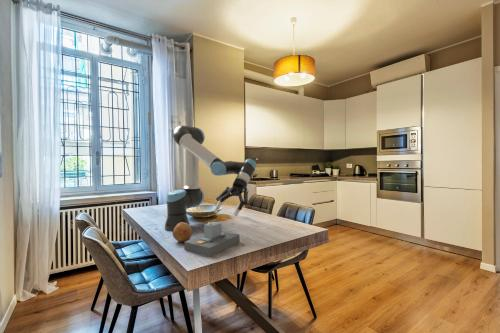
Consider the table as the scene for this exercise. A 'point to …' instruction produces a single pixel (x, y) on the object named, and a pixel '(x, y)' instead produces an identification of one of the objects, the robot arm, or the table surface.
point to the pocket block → (211, 244)
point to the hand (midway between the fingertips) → (224, 213)
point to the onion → (182, 232)
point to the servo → (212, 232)
